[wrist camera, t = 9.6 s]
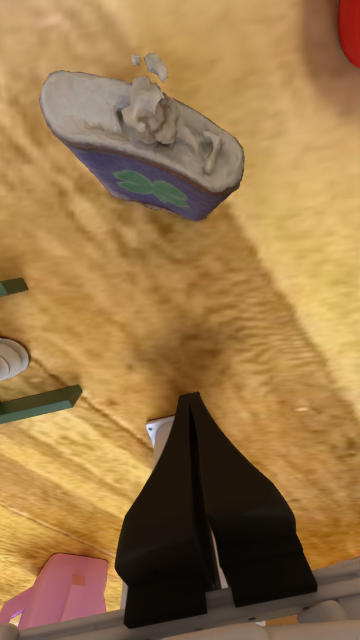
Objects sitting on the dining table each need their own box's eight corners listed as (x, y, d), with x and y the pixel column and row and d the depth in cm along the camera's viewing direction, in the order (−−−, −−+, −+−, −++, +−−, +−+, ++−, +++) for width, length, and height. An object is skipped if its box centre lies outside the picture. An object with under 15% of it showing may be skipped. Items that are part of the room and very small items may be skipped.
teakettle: (90, 542, 34) (49, 689, 23) (128, 578, 40) (112, 710, 28) (10, 564, 35) (-67, 714, 24) (59, 595, 41) (16, 730, 30)
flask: (104, 195, 16) (-5, 94, 6) (109, 155, 15) (-11, -47, 5) (204, 227, 17) (256, 188, 7) (214, 191, 16) (290, 90, 6)
